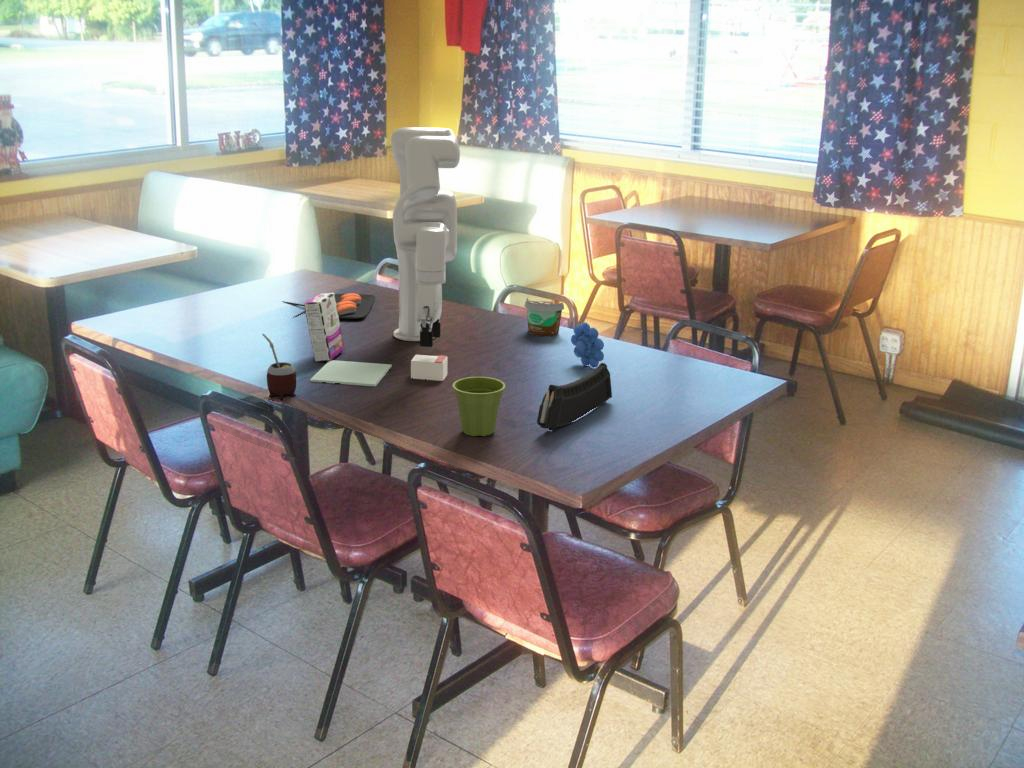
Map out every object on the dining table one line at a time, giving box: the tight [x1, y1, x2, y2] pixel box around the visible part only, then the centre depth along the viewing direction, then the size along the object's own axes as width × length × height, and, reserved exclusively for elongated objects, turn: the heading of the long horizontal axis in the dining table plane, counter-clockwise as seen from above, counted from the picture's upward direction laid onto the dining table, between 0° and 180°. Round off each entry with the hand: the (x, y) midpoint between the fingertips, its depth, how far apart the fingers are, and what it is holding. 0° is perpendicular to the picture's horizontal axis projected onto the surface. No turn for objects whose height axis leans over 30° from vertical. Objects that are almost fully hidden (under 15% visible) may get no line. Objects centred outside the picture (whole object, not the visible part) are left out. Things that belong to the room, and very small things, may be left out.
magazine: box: [536, 362, 613, 431], centre depth 257 cm, size 17×3×30 cm
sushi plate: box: [281, 292, 376, 320], centre depth 346 cm, size 29×30×4 cm
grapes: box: [570, 321, 605, 368], centre depth 295 cm, size 12×7×12 cm, turn 44°
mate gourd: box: [261, 333, 297, 402], centre depth 263 cm, size 8×8×15 cm
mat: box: [309, 359, 393, 387], centre depth 284 cm, size 17×17×1 cm
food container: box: [523, 297, 565, 337], centre depth 324 cm, size 12×6×10 cm, turn 68°
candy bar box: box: [303, 292, 345, 362], centre depth 295 cm, size 11×5×16 cm, turn 168°
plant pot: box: [451, 376, 506, 437], centre depth 245 cm, size 12×12×11 cm
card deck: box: [410, 354, 449, 382], centre depth 283 cm, size 6×8×5 cm, turn 82°
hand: (430, 341), depth 281 cm, fingers open, 9 cm apart
